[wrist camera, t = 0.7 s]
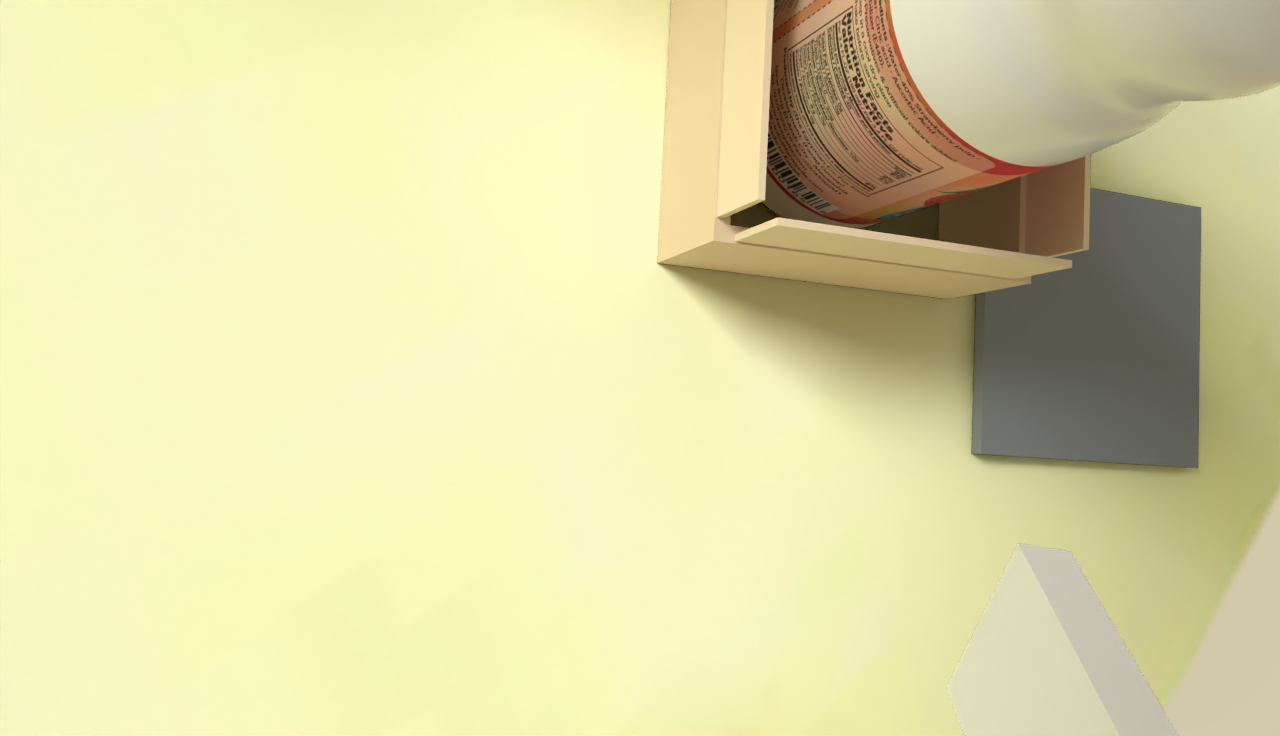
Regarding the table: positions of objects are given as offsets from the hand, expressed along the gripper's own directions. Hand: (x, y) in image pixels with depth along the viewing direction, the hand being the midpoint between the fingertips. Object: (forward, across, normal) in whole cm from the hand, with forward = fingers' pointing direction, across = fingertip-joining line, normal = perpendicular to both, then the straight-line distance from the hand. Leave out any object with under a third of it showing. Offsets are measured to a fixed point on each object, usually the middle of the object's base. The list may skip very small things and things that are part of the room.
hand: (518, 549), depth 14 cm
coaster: (+31, +25, -8) cm, 41 cm away
